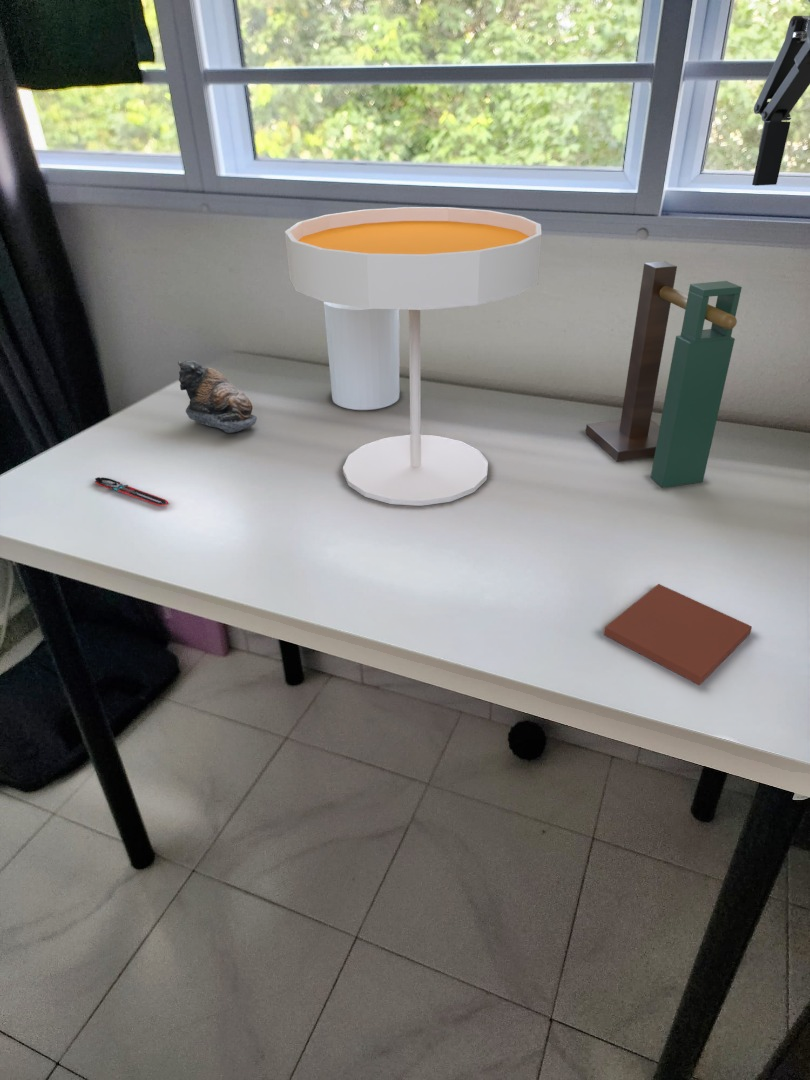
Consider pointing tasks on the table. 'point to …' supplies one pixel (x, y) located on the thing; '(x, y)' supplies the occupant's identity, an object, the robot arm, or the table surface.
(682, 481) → the green block with loop
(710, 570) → the table surface
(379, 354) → the bottle
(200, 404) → the bison figurine
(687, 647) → the cork pad
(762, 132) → the robot arm
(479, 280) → the white stemmed bowl
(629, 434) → the hook stand
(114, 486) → the pen
